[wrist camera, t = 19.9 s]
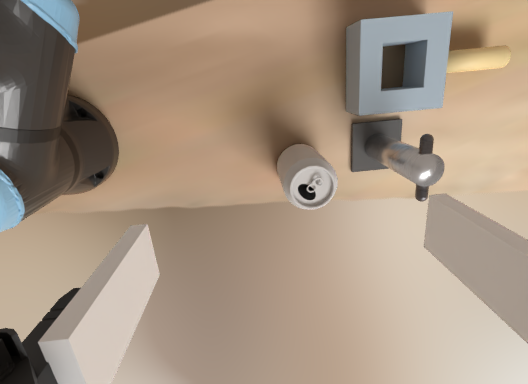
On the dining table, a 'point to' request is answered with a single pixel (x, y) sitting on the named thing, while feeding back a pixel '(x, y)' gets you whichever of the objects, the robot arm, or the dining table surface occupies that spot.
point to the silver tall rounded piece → (408, 160)
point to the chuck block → (408, 62)
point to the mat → (361, 135)
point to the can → (306, 177)
